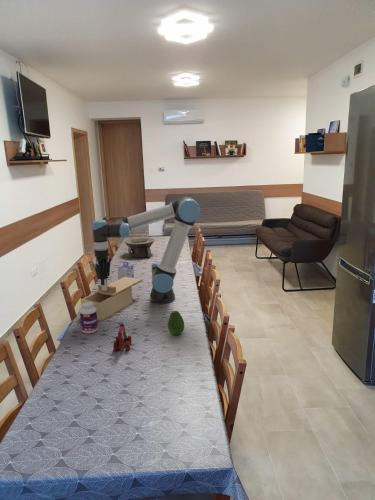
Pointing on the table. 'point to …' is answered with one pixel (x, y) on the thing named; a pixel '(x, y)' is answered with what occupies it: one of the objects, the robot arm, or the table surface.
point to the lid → (118, 286)
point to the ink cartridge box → (125, 271)
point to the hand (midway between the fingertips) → (104, 289)
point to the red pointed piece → (122, 339)
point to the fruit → (175, 323)
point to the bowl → (139, 246)
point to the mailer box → (109, 302)
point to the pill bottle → (88, 318)
